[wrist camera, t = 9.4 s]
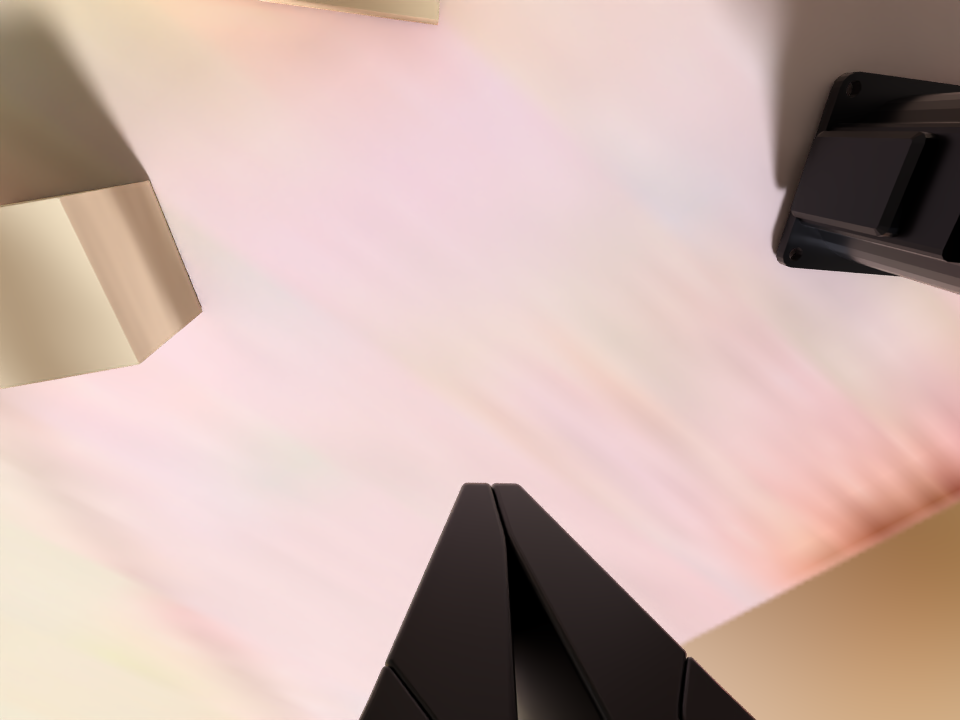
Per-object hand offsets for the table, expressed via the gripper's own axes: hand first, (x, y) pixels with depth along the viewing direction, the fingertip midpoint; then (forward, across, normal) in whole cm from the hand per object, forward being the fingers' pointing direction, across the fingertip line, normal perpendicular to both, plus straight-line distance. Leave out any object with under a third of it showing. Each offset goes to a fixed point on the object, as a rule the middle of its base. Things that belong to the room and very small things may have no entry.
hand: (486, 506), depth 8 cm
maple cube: (+12, +12, 0) cm, 17 cm away
